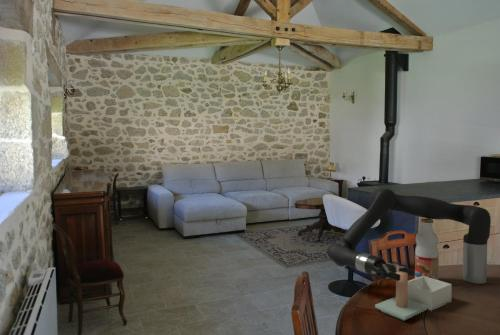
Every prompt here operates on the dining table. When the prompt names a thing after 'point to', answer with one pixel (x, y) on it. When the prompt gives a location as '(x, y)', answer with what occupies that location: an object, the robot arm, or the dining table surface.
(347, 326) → the dining table surface
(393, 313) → the peg on square base
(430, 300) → the box
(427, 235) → the fruit juice
